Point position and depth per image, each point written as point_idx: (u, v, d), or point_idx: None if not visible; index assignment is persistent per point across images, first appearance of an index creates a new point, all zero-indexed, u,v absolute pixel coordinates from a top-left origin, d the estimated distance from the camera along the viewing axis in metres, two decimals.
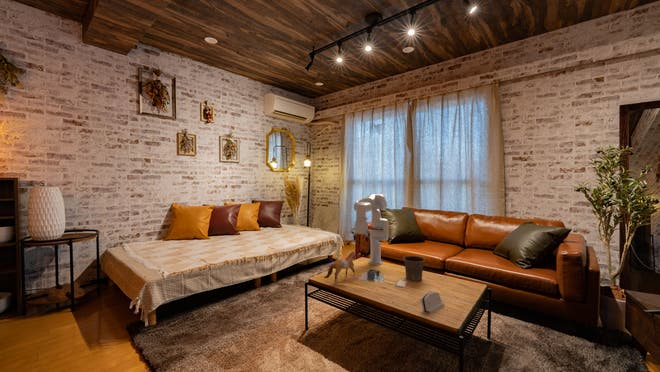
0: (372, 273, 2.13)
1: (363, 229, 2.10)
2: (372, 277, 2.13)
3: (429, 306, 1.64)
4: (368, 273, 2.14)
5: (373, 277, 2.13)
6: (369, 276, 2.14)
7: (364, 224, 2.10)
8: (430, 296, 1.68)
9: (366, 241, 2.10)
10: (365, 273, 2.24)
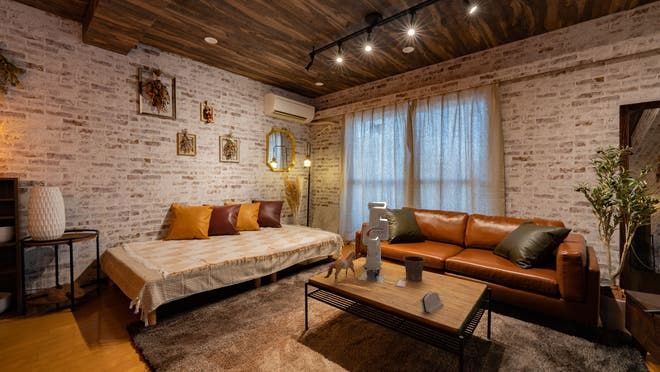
0: (372, 273, 2.13)
1: (374, 264, 2.13)
2: (372, 277, 2.13)
3: (429, 306, 1.64)
4: (368, 273, 2.14)
5: (373, 277, 2.13)
6: (369, 276, 2.14)
7: (375, 259, 2.12)
8: (430, 296, 1.68)
9: (375, 277, 2.13)
10: (365, 273, 2.24)
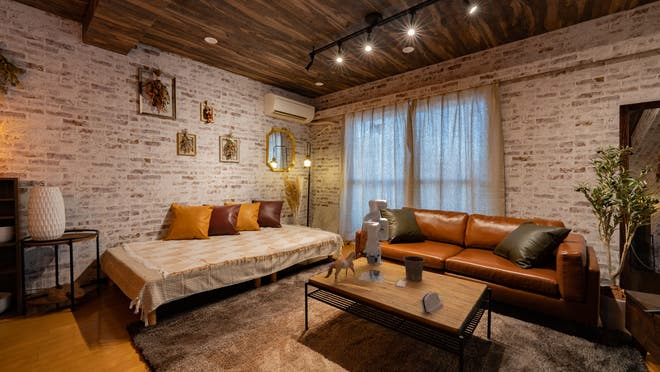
0: (372, 258, 2.13)
1: (375, 250, 2.12)
2: (372, 262, 2.13)
3: (429, 307, 1.64)
4: (368, 258, 2.14)
5: (373, 262, 2.13)
6: (369, 261, 2.14)
7: (376, 245, 2.12)
8: (430, 296, 1.68)
9: (376, 262, 2.13)
10: (365, 273, 2.24)
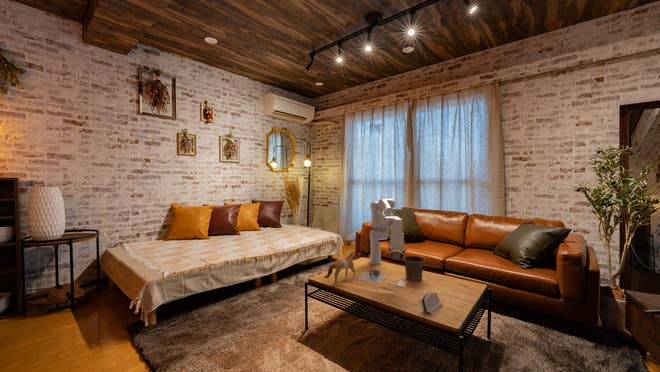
0: (397, 254, 2.03)
1: (400, 245, 2.03)
2: (397, 258, 2.03)
3: (429, 307, 1.63)
4: (393, 254, 2.04)
5: (398, 258, 2.03)
6: (394, 257, 2.04)
7: (401, 240, 2.03)
8: (430, 296, 1.67)
9: (401, 258, 2.04)
10: (365, 273, 2.24)
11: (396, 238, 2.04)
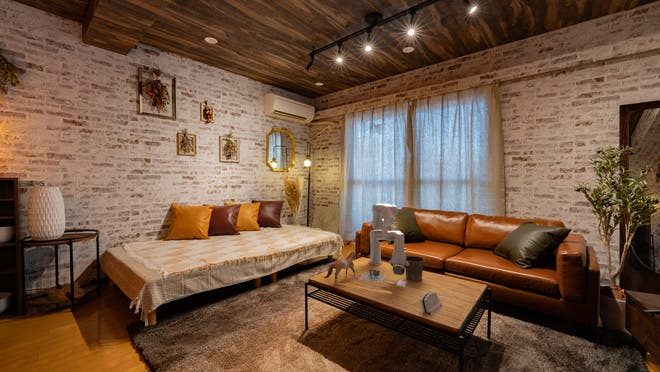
0: (399, 269, 2.03)
1: (402, 260, 2.03)
2: (399, 273, 2.03)
3: (429, 307, 1.63)
4: (395, 269, 2.04)
5: (400, 273, 2.02)
6: (396, 272, 2.04)
7: (403, 255, 2.02)
8: (430, 296, 1.67)
9: (403, 273, 2.03)
10: (365, 273, 2.24)
11: (398, 253, 2.03)
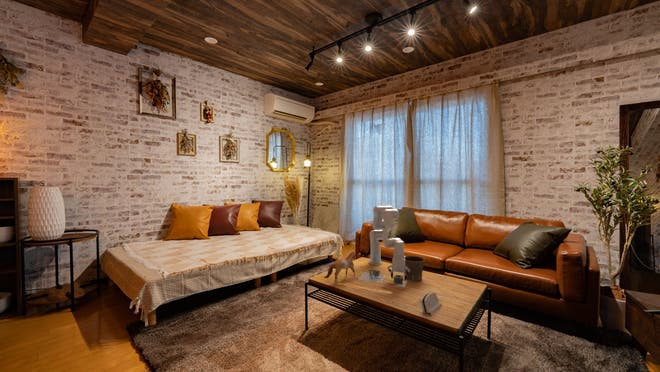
0: (399, 279, 2.03)
1: (401, 268, 2.03)
2: (399, 283, 2.03)
3: (429, 307, 1.63)
4: (395, 279, 2.05)
5: (400, 283, 2.03)
6: (396, 282, 2.04)
7: (403, 262, 2.03)
8: (429, 297, 1.67)
9: None
10: (365, 273, 2.24)
11: (398, 260, 2.04)
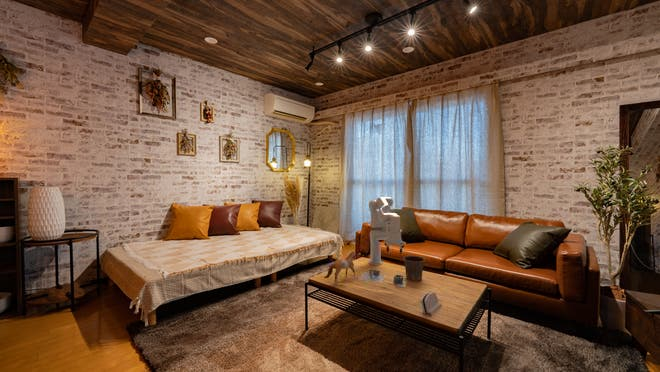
0: (399, 279, 2.03)
1: (397, 241, 2.08)
2: (399, 283, 2.03)
3: (429, 307, 1.63)
4: (395, 279, 2.05)
5: (400, 283, 2.03)
6: (396, 282, 2.04)
7: (398, 236, 2.07)
8: (429, 297, 1.67)
9: (400, 253, 2.08)
10: (365, 273, 2.24)
11: (393, 234, 2.08)
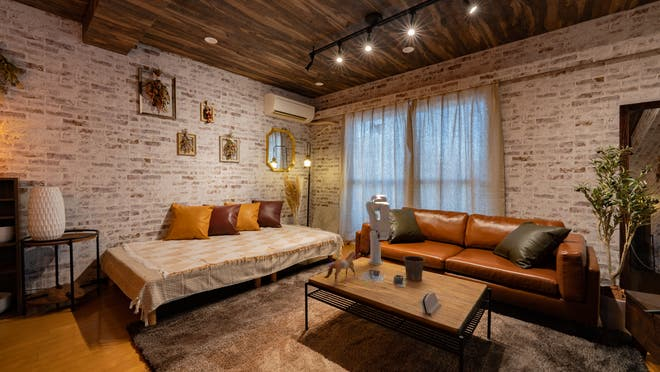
0: (399, 279, 2.03)
1: (387, 228, 2.20)
2: (399, 283, 2.03)
3: (429, 308, 1.62)
4: (395, 279, 2.05)
5: (400, 283, 2.03)
6: (396, 282, 2.04)
7: (388, 223, 2.19)
8: (429, 297, 1.66)
9: (390, 239, 2.20)
10: (365, 273, 2.24)
11: (384, 221, 2.20)
